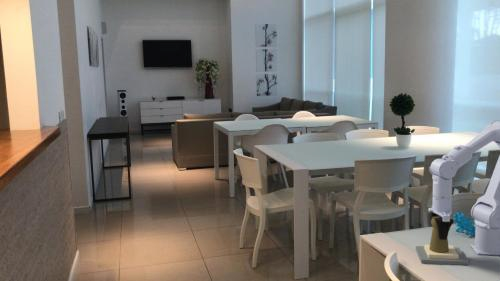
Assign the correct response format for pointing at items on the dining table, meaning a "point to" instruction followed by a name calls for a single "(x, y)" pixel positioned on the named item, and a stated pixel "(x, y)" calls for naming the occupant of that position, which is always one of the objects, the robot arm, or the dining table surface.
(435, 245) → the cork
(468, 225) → the blue lumpy cluster
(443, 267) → the dining table surface
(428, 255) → the grey flat slab
